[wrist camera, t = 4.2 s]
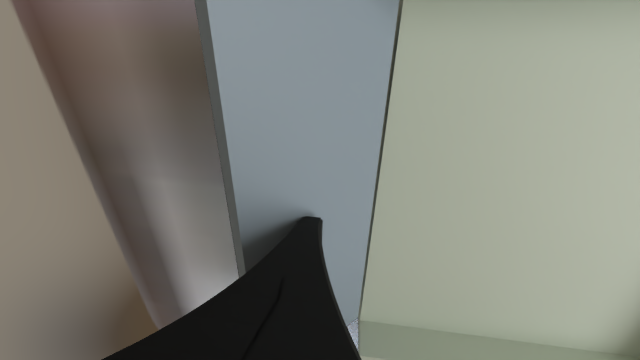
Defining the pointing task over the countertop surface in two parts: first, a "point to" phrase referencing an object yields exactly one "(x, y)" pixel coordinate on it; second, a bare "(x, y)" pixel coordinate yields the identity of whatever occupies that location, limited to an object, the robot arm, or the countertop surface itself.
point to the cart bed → (507, 185)
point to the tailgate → (300, 122)
